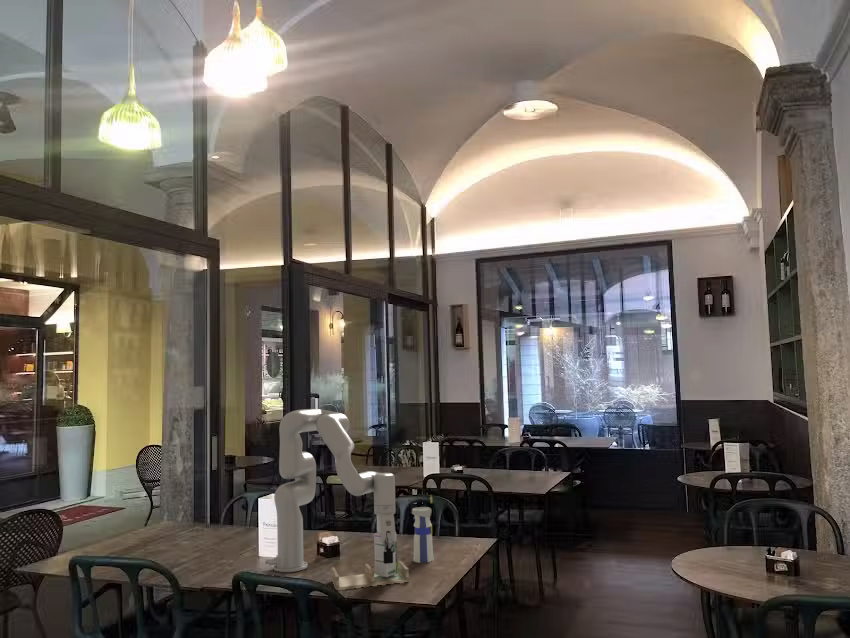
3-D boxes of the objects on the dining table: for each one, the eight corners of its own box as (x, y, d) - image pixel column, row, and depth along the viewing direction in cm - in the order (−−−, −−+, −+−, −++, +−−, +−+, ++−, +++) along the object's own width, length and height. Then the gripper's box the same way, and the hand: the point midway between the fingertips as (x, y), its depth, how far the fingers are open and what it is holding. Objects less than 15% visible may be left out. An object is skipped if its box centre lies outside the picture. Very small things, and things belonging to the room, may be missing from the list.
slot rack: (336, 590, 225) (336, 576, 225) (331, 580, 236) (331, 567, 237) (408, 582, 231) (408, 568, 232) (400, 573, 243) (400, 560, 243)
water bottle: (434, 556, 264) (432, 491, 266) (435, 562, 256) (433, 495, 258) (413, 557, 264) (411, 492, 266) (413, 563, 255) (411, 496, 257)
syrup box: (387, 577, 232) (386, 534, 233) (374, 574, 235) (373, 532, 236) (397, 573, 236) (397, 531, 237) (384, 570, 240) (384, 529, 241)
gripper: (400, 512, 230) (402, 565, 229) (389, 503, 247) (390, 553, 245) (379, 514, 228) (380, 567, 227) (369, 505, 245) (370, 555, 243)
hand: (385, 559), depth 236 cm, fingers closed on syrup box, 7 cm apart
